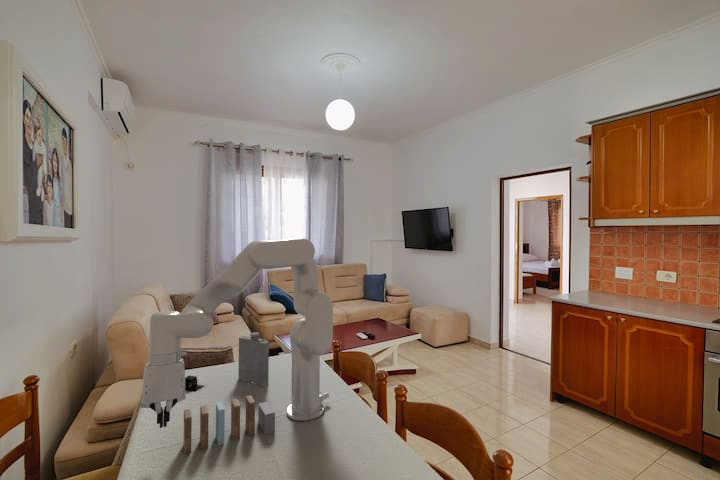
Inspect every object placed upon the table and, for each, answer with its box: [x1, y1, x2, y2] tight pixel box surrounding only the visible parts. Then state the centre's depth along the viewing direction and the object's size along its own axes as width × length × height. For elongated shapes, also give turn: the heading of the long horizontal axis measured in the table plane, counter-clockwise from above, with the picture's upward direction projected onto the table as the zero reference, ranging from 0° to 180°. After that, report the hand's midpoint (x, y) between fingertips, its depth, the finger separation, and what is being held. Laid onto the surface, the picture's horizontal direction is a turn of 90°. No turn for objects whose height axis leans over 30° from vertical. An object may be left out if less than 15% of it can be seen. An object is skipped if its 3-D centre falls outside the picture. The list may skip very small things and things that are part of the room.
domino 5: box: [245, 394, 256, 437], centre depth 104 cm, size 2×5×10 cm, turn 31°
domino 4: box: [230, 398, 241, 441], centre depth 102 cm, size 2×5×10 cm, turn 31°
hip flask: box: [238, 331, 270, 388], centre depth 141 cm, size 16×4×20 cm, turn 60°
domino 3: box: [215, 401, 226, 446], centre depth 100 cm, size 2×5×10 cm, turn 31°
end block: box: [257, 401, 276, 435], centre depth 107 cm, size 3×8×6 cm, turn 31°
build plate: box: [185, 375, 205, 393], centre depth 135 cm, size 12×7×5 cm, turn 76°
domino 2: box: [199, 404, 209, 451], centre depth 97 cm, size 2×5×10 cm, turn 31°
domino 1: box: [183, 408, 193, 455], centre depth 95 cm, size 2×5×10 cm, turn 31°
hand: (163, 424), depth 92 cm, fingers closed
